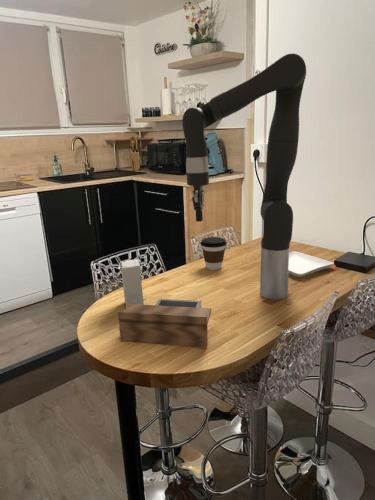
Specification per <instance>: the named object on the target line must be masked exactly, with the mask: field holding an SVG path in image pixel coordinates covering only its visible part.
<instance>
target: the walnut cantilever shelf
mask: <svg viewBox="0 0 375 500" xmlns="http://www.w3.org/2000/svg"><path fill="white" fill-rule="evenodd" d="M117 314H118V315H117V316H118V317H117V318H118V326H119V337H120V338H119V339H120V342H121V343H133V344H146V345H160V346H173V347H189V348H198V349H199V348H201V349H207V348H208V345H209V343H208V341H209V340H208V339H209V337H208V335H209V334H208V324H209V320H210V317H211V315H212V308H210V307H208V308H207V307H201V308H196V307H177V306H159V305H155V304H144V305H140V304H130V305H129V306H128V307H127V308H125V309H119V310H118V311H117Z"/></svg>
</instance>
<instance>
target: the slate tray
mask: <svg viewBox="0 0 375 500" xmlns="http://www.w3.org/2000/svg"><path fill="white" fill-rule="evenodd" d="M154 305H159V306H177V307H196V308H202V301H201V300H191V299H190V300H189V299H167V298H158V300H157V301H156V303H155V304H154Z"/></svg>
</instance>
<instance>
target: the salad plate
mask: <svg viewBox="0 0 375 500" xmlns="http://www.w3.org/2000/svg"><path fill="white" fill-rule="evenodd" d="M334 264H335V263H334V262H332V261H329V260H326V259H324V258H320V257H317V256H314V255H309V254H306V253H302V252H299V251H295V250H294V251H289V267H288V270H289V276H294V277H298V278H303V277H304V276H307V275H312V274H313V273H316V272H319V271H323V270H325V269H327V268H330V267H332V266H333V265H334Z"/></svg>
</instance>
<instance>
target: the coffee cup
mask: <svg viewBox="0 0 375 500" xmlns="http://www.w3.org/2000/svg"><path fill="white" fill-rule="evenodd" d="M199 244H200V245H201V246H202V253H203V260H204V263H205V267H206V269H207V270H211V271H216V270H217V271H218V270H220V269H221V268H222V266H223V263H224V262H223V261H224V258H225V250H226V245H227V244H228V242H227V241H226V239H225V238H223V237H218V236H210V237H205V238H202V239H201V242H199Z"/></svg>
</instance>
